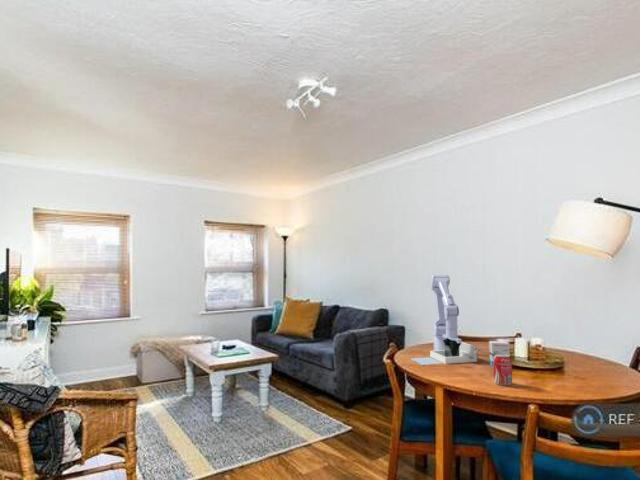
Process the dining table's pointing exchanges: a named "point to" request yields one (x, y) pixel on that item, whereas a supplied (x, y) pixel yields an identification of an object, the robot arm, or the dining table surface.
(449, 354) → the block
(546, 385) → the dining table surface
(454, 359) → the case
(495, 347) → the ink box
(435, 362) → the mat
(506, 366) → the soda can
